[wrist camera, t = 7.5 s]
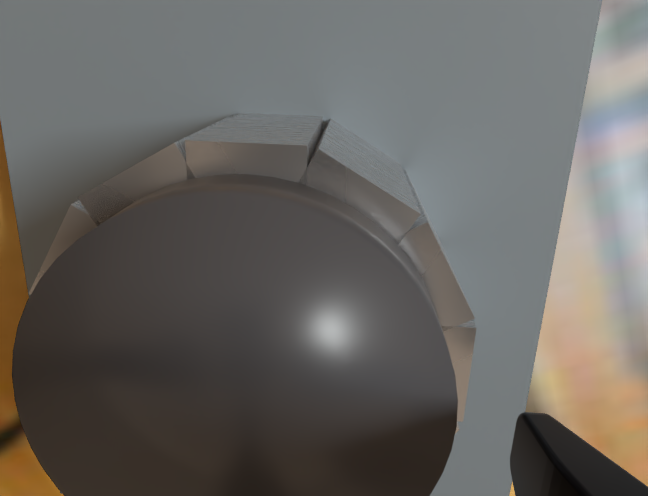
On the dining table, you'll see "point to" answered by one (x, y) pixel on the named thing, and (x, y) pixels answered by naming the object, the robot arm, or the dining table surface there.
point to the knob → (235, 351)
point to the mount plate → (332, 103)
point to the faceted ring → (306, 168)
